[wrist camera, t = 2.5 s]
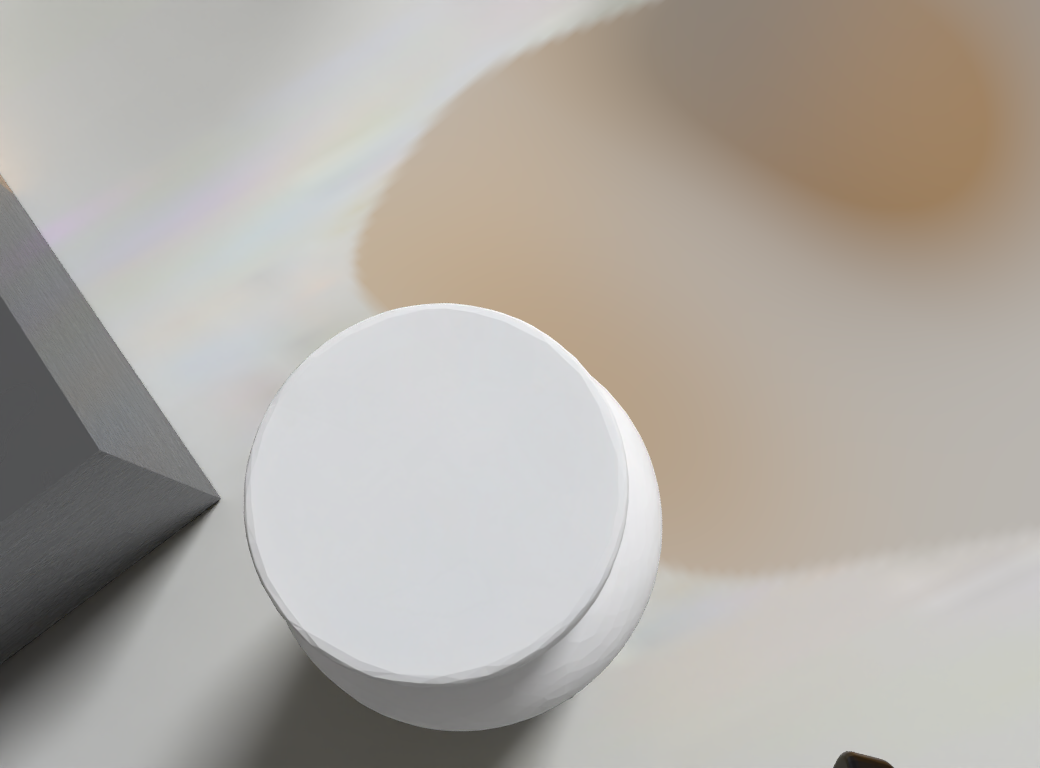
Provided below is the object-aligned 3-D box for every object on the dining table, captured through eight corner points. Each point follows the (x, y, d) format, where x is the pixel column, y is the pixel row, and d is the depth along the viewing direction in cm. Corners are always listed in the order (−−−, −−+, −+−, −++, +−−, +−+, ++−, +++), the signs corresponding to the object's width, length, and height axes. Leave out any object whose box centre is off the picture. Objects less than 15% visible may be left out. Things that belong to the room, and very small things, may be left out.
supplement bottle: (493, 756, 17) (400, 911, 7) (323, 558, 18) (59, 472, 9) (679, 566, 17) (811, 484, 8) (505, 391, 19) (445, 147, 9)
